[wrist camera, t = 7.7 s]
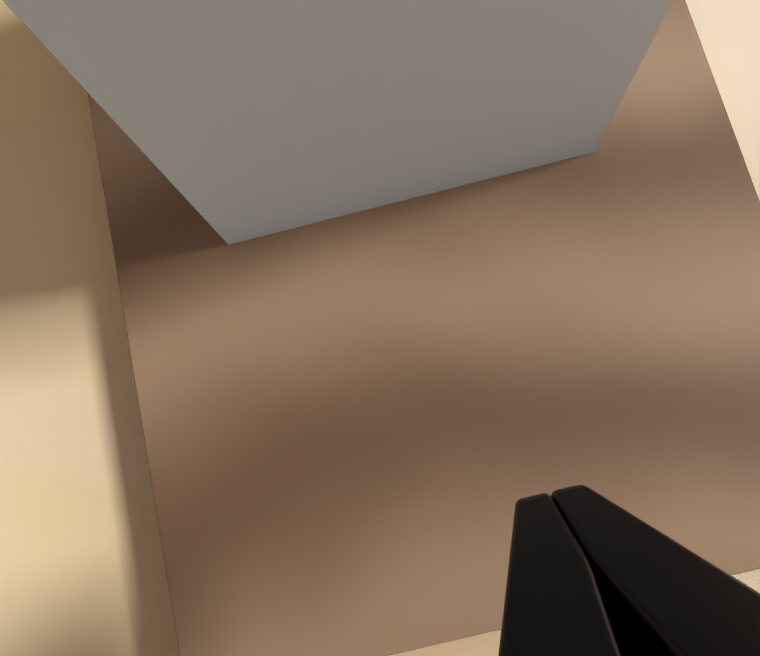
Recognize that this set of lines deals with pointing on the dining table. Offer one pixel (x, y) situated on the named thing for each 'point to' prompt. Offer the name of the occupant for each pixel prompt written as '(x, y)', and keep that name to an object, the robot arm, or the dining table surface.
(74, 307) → the dining table surface
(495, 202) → the podium board
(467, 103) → the carton
